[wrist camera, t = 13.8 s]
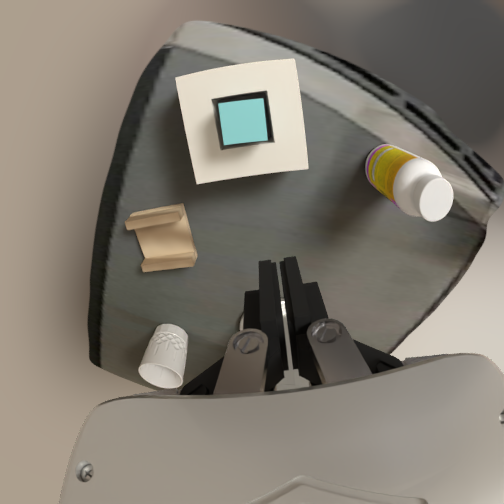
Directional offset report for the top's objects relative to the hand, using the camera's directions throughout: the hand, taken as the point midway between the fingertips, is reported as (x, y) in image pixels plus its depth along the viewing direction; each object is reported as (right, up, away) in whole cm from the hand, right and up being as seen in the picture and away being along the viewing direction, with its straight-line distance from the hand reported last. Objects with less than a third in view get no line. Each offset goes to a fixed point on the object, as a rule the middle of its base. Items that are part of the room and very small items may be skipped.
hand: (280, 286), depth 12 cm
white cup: (-17, -14, +37) cm, 43 cm away
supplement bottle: (+17, +13, +20) cm, 30 cm away
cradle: (-14, +4, +26) cm, 30 cm away
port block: (-2, +18, +18) cm, 25 cm away
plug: (-2, +17, +17) cm, 24 cm away
